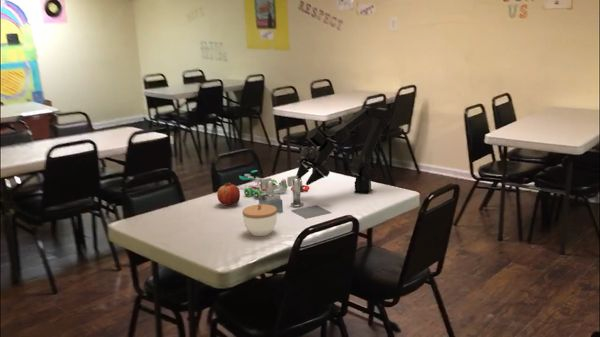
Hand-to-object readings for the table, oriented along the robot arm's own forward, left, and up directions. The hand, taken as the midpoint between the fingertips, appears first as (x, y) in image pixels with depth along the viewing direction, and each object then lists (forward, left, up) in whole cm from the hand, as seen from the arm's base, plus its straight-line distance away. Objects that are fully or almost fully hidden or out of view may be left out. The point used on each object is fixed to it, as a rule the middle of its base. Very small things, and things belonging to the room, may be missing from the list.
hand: (301, 182), depth 247 cm
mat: (-8, +7, -10) cm, 14 cm away
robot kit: (+27, -12, -10) cm, 31 cm away
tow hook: (+10, -21, -10) cm, 25 cm away
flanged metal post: (+1, +2, -10) cm, 10 cm away
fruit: (+29, +10, -10) cm, 33 cm away
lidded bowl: (0, +35, -10) cm, 37 cm away
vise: (+9, +10, -10) cm, 17 cm away
